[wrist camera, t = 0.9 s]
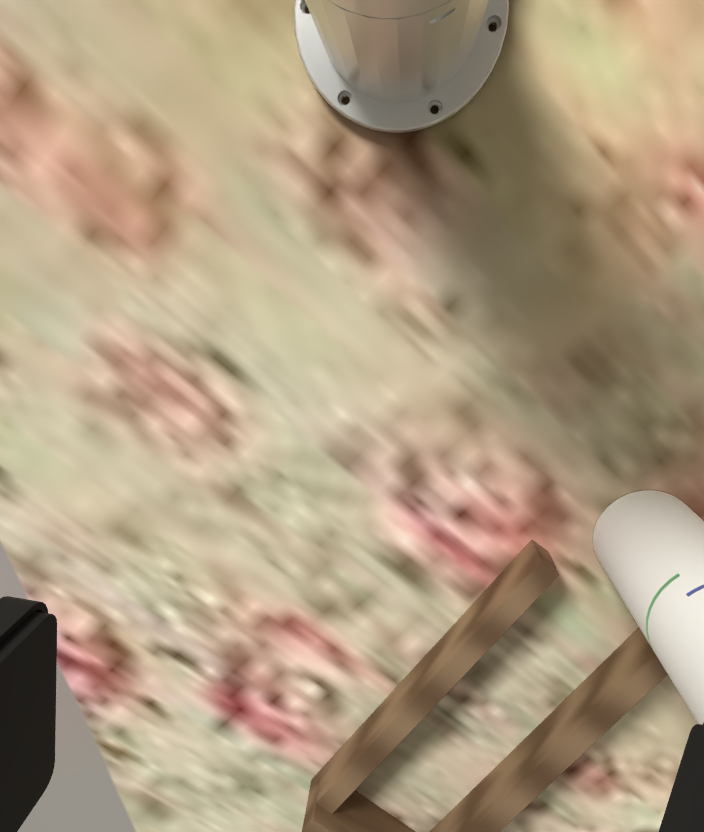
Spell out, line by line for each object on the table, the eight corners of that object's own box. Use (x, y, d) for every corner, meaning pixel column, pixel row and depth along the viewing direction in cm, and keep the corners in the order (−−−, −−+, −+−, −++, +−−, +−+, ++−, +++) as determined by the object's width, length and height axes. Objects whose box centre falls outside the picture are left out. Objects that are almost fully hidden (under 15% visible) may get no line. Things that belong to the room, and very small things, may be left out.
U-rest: (532, 539, 46) (546, 573, 42) (659, 634, 47) (688, 677, 43) (311, 779, 53) (301, 832, 48) (426, 858, 54) (428, 917, 49)
